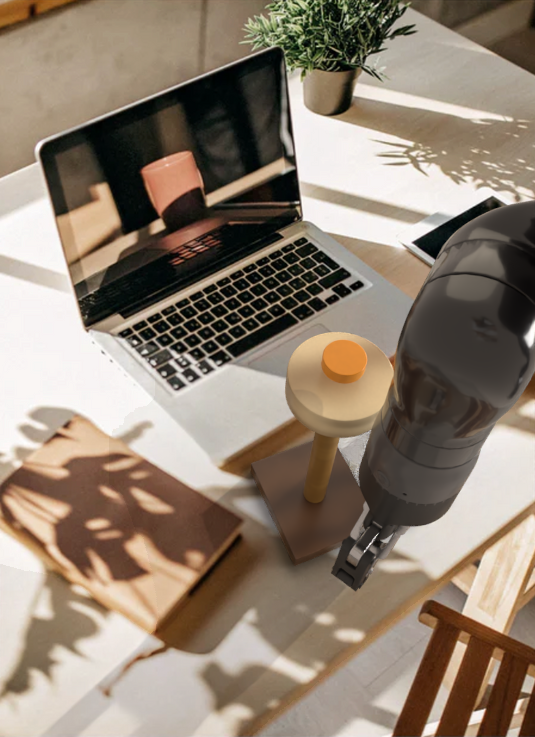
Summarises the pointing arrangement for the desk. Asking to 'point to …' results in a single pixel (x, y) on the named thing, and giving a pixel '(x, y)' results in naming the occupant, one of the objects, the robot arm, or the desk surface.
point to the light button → (344, 361)
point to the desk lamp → (321, 449)
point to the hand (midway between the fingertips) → (380, 539)
